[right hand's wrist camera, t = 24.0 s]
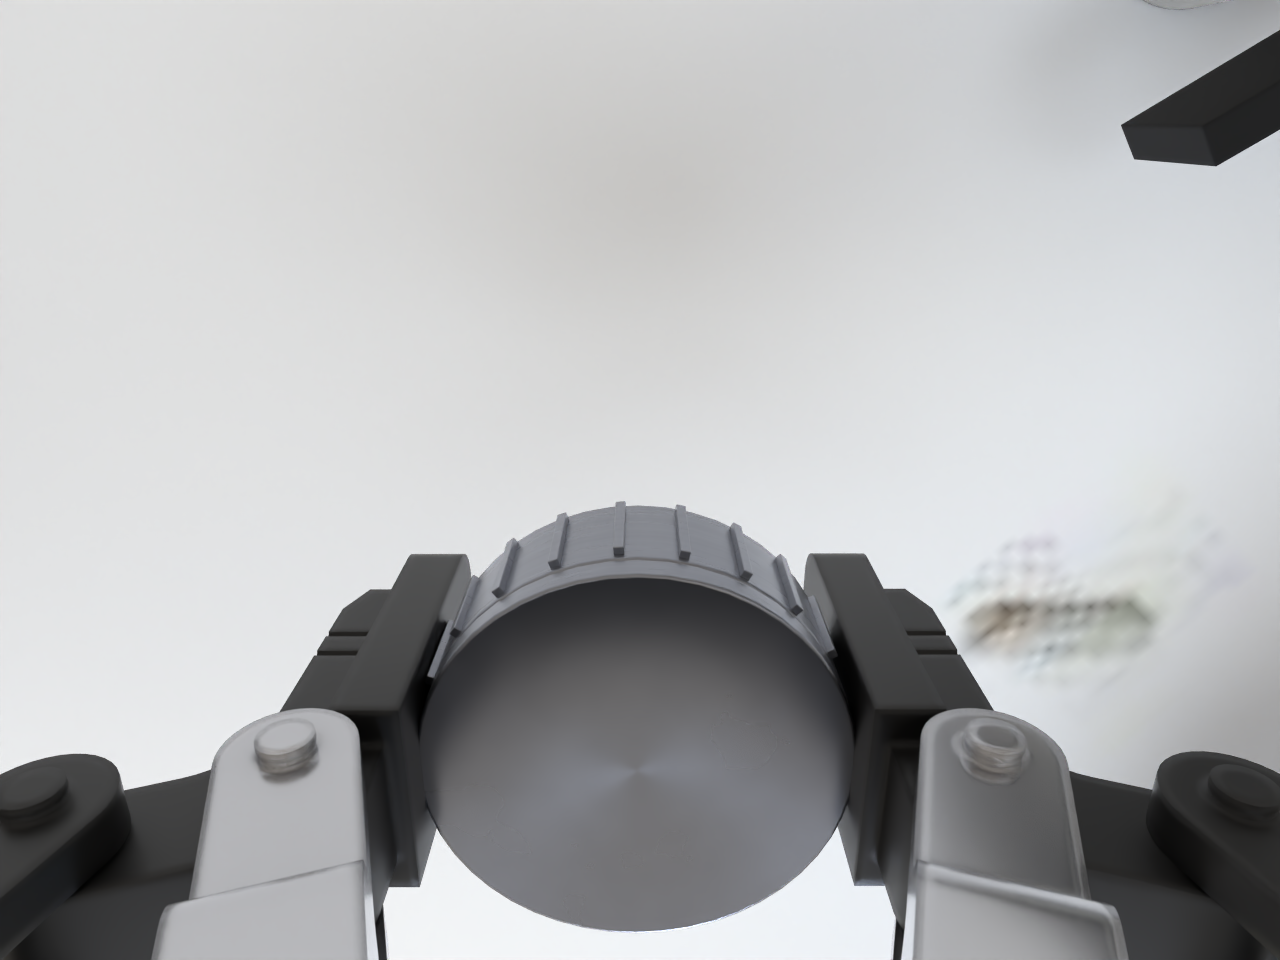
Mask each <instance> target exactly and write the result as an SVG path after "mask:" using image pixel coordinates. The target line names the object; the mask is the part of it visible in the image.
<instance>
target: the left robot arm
mask: <svg viewBox="0 0 1280 960" xmlns="http://www.w3.org/2000/svg"><path fill="white" fill-rule="evenodd" d="M1121 126H1122V129H1123V131H1124V134H1125V137H1126V139H1127V142H1128V144H1129V147H1130V150H1131V152H1132V155H1133V157H1134V159H1138V160H1149V161H1161V162H1173V163H1184V164H1196V165H1208V166H1217V165H1219V164H1221V163H1223V162H1224V161H1226V160H1228V159H1230V158H1231V157H1233V156H1235V155H1236V154H1238V153H1240V152H1242V151H1243V150H1245V149H1247V148H1249V147H1250V146H1252V145H1254V144H1256V143H1257V142H1259V141H1261V140H1262V139H1264V138H1266V137H1268V136H1269V135H1271V134H1273V133H1275V132H1276V131H1278V130H1280V30H1279V31H1277V32H1276V33H1274V34H1272V35H1271V36H1269V37H1267V38H1266V39H1264V40H1262V41H1261V42H1259V43H1257V44H1256V45H1254V46H1252V47H1251V48H1249V49H1247V50H1246V51H1244V52H1242V53H1241V54H1239V55H1237V56H1236V57H1234V58H1232V59H1231V60H1229V61H1227V62H1226V63H1224V64H1222V65H1221V66H1219V67H1217V68H1216V69H1214V70H1212V71H1211V72H1209V73H1207V74H1206V75H1204V76H1202V77H1201V78H1199V79H1197V80H1196V81H1194V82H1192V83H1191V84H1189V85H1187V86H1186V87H1184V88H1182V89H1181V90H1179V91H1177V92H1176V93H1174V94H1172V95H1171V96H1169V97H1167V98H1166V99H1164V100H1162V101H1160V102H1159V103H1157V104H1155V105H1154V106H1152V107H1150V108H1149V109H1147V110H1145V111H1144V112H1142V113H1140V114H1139V115H1137V116H1135V117H1134V118H1132V119H1130V120H1129V121H1127V122H1125V123H1124V124H1122V125H1121Z"/></svg>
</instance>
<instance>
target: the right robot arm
mask: <svg viewBox="0 0 1280 960" xmlns="http://www.w3.org/2000/svg"><path fill="white" fill-rule="evenodd" d="M470 579H471V572H470V565H469V560H468V557H467V555H466V554H411V555H410V556H409V558H408V559H407V561H406V563H405V565H404V567H403V569H402V571H401V572H400V574H399V576H398V578H397V580H396V582H395V584H394V585H393V587H392V589H391V590H369V591H368V592H366V593H365V594H363V595H362V596H361V597H359V598H358V599H356V600H355V601H354V602H352V603H351V604H349V605H348V606H347V607H345V608H344V609H343V610H342V611H341V613H340V615H339V616H338V618H337V619H336V621H335V623H334V624H333V626H332V628H331V629H330V631H329V636H326V637H325V639H324V641H323V642H322V644H321V646H320V647H319V649H318V650H317V656H314V657H313V659H312V660H311V662H310V663H309V665H308V667H307V668H306V670H305V672H304V673H303V675H302V676H301V678H300V680H299V681H298V683H297V685H296V686H295V688H294V689H293V691H292V693H291V694H290V696H289V698H288V699H287V701H286V703H285V704H284V706H283V707H282V709H281V711H280V712H279V713H275V714H272V715H269V716H266V717H264V718H261V719H259V720H257V721H254V722H252V723H251V724H249V725H247V726H245V727H243V728H242V729H240V730H239V731H237V732H236V733H235V734H233V735H232V736H231V737H230V738H229V739H228V740H226V741H225V743H224V744H223V745H222V746H221V747H220V748H219V750H218V752H217V753H216V755H215V757H214V760H213V763H212V768H211V770H208V771H206V772H203V773H200V774H197V775H193V776H189V777H185V778H181V779H176V780H172V781H167V782H162V783H158V784H153V785H148V786H143V787H139V788H134V789H129V790H124V789H123V786H122V782H121V778H120V774H119V772H118V769H117V767H116V766H115V765H114V764H113V763H112V762H110V761H109V760H107V759H105V758H102V757H99V756H96V755H89V754H67V755H58V756H53V757H48V758H44V759H40V760H37V761H33V762H30V763H27V764H24V765H21V766H19V767H16V768H14V769H12V770H9V771H7V772H5V773H3V774H1V775H0V960H389V949H388V937H387V929H386V922H385V915H384V908H383V903H384V900H385V896H386V893H387V890H388V887H420V884H421V880H422V877H423V874H424V870H425V867H426V863H427V860H428V856H429V853H430V849H431V846H432V842H433V839H434V835H435V832H436V829H437V827H436V825H435V823H434V821H433V819H432V818H431V816H430V814H429V811H428V808H427V805H426V798H425V790H424V781H423V772H422V763H421V754H420V744H419V722H420V718H421V714H422V711H423V708H424V705H425V701H426V698H427V695H428V693H429V690H430V687H431V685H429V684H426V683H425V679H426V676H427V673H428V671H429V668H430V666H431V663H432V661H433V658H434V655H435V653H436V650H437V648H438V645H439V643H440V640H441V637H442V635H443V632H444V630H445V627H446V625H447V622H448V620H452V621H454V619H455V617H456V614H457V611H458V609H459V606H460V604H461V601H462V598H463V596H464V593H465V590H466V588H467V585H468V582H469V580H470ZM804 592H805V594H806V595H807V597H810V596H813V595H814V596H815V598H816V600H817V601H818V604H819V607H820V609H821V612H822V615H823V617H824V620H825V623H826V625H827V628H828V631H829V633H830V636H831V639H832V641H833V644H834V647H835V649H836V652H837V655H838V656H837V657H835V658H833V662H834V664H835V667H836V670H837V673H838V675H839V678H840V681H841V684H842V686H843V689H844V692H845V695H846V697H847V700H848V704H849V707H850V711H851V714H852V718H853V721H854V727H855V748H854V758H853V768H852V777H851V786H850V794H849V801H848V803H847V806H846V809H845V811H844V814H843V817H842V819H841V820H840V822H839V824H838V829H839V832H840V836H841V839H842V843H843V846H844V850H845V854H846V857H847V861H848V864H849V868H850V871H851V875H852V878H853V882H854V886H885V887H886V890H887V893H888V896H889V899H890V902H891V905H892V909H893V912H894V914H895V922H894V929H893V937H892V950H891V960H1280V774H1279V773H1277V772H1275V771H1273V770H1271V769H1268V768H1266V767H1264V766H1262V765H1259V764H1256V763H1254V762H1251V761H1248V760H1245V759H1242V758H1238V757H1235V756H1231V755H1226V754H1221V753H1214V752H1204V751H1202V752H1185V753H1179V754H1176V755H1173V756H1171V757H1169V758H1167V759H1166V760H1164V762H1163V763H1162V764H1161V765H1160V767H1159V769H1158V771H1157V775H1156V779H1155V782H1154V786H1153V790H1150V789H1145V788H1141V787H1136V786H1131V785H1126V784H1122V783H1117V782H1112V781H1108V780H1103V779H1098V778H1093V777H1089V776H1085V775H1081V774H1077V773H1074V772H1071V771H1069V768H1068V763H1067V760H1066V757H1065V755H1064V753H1063V752H1062V750H1061V748H1060V747H1059V746H1058V745H1057V744H1056V743H1055V741H1054V740H1052V739H1051V738H1050V737H1049V736H1048V735H1047V734H1045V733H1044V732H1043V731H1041V730H1040V729H1038V728H1037V727H1035V726H1033V725H1031V724H1029V723H1028V722H1026V721H1023V720H1021V719H1019V718H1016V717H1014V716H1011V715H1008V714H1005V713H1001V712H997V711H994V710H993V708H992V707H991V705H990V703H989V702H988V700H987V698H986V697H985V695H984V693H983V692H982V690H981V688H980V687H979V685H978V683H977V682H976V680H975V679H974V677H973V675H972V674H971V672H970V670H969V669H968V667H967V665H966V664H965V662H964V660H963V659H962V657H961V655H957V649H956V647H955V645H954V644H953V642H952V640H951V639H950V637H949V636H946V631H945V629H944V627H943V626H942V624H941V622H940V621H939V619H938V617H937V616H936V614H935V612H934V611H933V609H932V608H931V607H929V606H928V605H927V604H925V603H924V602H922V601H921V600H920V599H918V598H917V597H915V596H914V595H913V594H911V593H910V592H908V591H907V590H906V589H883V587H882V585H881V583H880V581H879V579H878V577H877V575H876V573H875V572H874V570H873V568H872V566H871V564H870V562H869V560H868V558H867V557H866V555H865V554H809V556H808V558H807V562H806V568H805V578H804Z"/></svg>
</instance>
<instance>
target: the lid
mask: <svg viewBox="0 0 1280 960" xmlns="http://www.w3.org/2000/svg"><path fill="white" fill-rule="evenodd" d="M837 656H838V655H837V652H836V649H835V647H834V644H833V641H832V639H831V636H830V633H829V631H828V628H827V625H826V623H825V620H824V617H823V615H822V612H821V609H820V607H819V604H818V601H817V600H816V598H815V596H814V595H813V596H810V597H807V595H806V594H805V592H804V591H803V589H802V588H801V586H800V585H799V583H798V582H797V580H796V579H795V577H794V576H793V575H792V574H791V572H790V569H789V566H788V563H787V560H786V559H785V558H784V557H783V556H782V555H781V554H780V555H778V556H777V557H775V556H773V555H772V554H771V553H770V552H769V551H767V550H766V549H765V548H764V547H763V546H762V545H760V544H759V543H757V542H756V541H754V540H752V539H751V538H749V537H748V536H746V535H745V534H743V532H742V528H741V526H739V525H737V524H735V523H733V524H732V525H731V527H729V526H727V525H725V524H723V523H721V522H718V521H716V520H713V519H710V518H707V517H704V516H701V515H698V514H695V513H691V512H686V507H685V506H681V505H676V508H675V509H671V508H665V507H651V506H626V503H625V501H623V502H616V507H609V508H604V509H598V510H592V511H587V512H583V513H580V514H576V515H573V516H570V517H568V516H567V514H566V513H563V514H560V515H558V516H557V520H556V522H553V523H551V524H549V525H547V526H545V527H542V528H540V529H538V530H536V531H534V532H533V533H531V534H529V535H528V536H526V537H525V538H523V539H521V540H520V541H518V542H517V541H516V540H515V539H514V538H513V539H511V540H510V541H509V542H507V544H506V548H505V551H504V553H503V554H502V555H500V556H499V557H498V558H497V559H496V560H495V561H494V562H493V563H492V564H491V565H490V566H489V567H488V568H487V569H486V570H485V572H484V573H483V574H482V575H481V576H480V577H479V578H478V577H476V576H475V575H473V576H472V578H471V579H470V580H469V582H468V585H467V588H466V590H465V593H464V596H463V598H462V601H461V604H460V606H459V609H458V611H457V614H456V617H455V619H454V621H452V620H448V622H447V625H446V627H445V630H444V632H443V635H442V637H441V640H440V643H439V645H438V648H437V650H436V653H435V655H434V658H433V661H432V663H431V666H430V668H429V671H428V673H427V676H426V679H425V683H426V684H429V685H431V687H430V690H429V693H428V695H427V698H426V701H425V705H424V708H423V711H422V714H421V718H420V722H419V744H420V754H421V763H422V772H423V781H424V790H425V798H426V805H427V808H428V811H429V814H430V816H431V818H432V819H433V821H434V823H435V825H436V827H437V829H438V831H439V833H440V835H441V836H442V837H443V839H444V840H445V842H446V843H447V844H448V846H449V847H450V848H451V850H452V851H453V853H454V854H455V855H456V856H457V857H458V858H459V859H460V860H461V861H462V862H463V863H464V865H465V866H466V867H467V868H468V869H469V870H470V871H471V872H472V873H473V874H475V875H476V876H477V877H478V878H480V879H481V880H482V881H483V882H484V883H486V884H487V885H488V886H489V887H491V888H492V889H494V890H495V891H497V892H498V893H500V894H501V895H503V896H505V897H506V898H508V899H509V900H511V901H513V902H515V903H517V904H519V905H521V906H523V907H525V908H527V909H529V910H531V911H533V912H535V913H538V914H541V915H543V916H546V917H549V918H551V919H554V920H557V921H560V922H564V923H568V924H572V925H576V926H580V927H583V928H590V929H597V930H603V931H610V932H629V933H644V932H663V931H670V930H677V929H684V928H690V927H694V926H698V925H702V924H706V923H710V922H714V921H717V920H719V919H722V918H725V917H728V916H731V915H733V914H736V913H738V912H741V911H743V910H745V909H747V908H749V907H751V906H753V905H755V904H757V903H759V902H761V901H763V900H764V899H766V898H767V897H769V896H771V895H772V894H774V893H775V892H777V891H779V890H780V889H782V888H783V887H784V886H785V885H787V884H788V883H789V882H790V881H792V880H793V879H794V878H795V877H797V876H798V875H799V874H800V873H801V872H802V871H803V870H804V869H805V868H806V867H807V866H808V865H809V864H810V863H811V862H812V861H813V860H814V859H815V858H816V857H817V856H818V854H819V853H820V852H821V850H822V849H823V848H824V846H825V845H826V844H827V842H828V841H829V840H830V838H831V837H832V835H833V833H834V831H835V830H836V828H837V826H838V824H839V822H840V820H841V819H842V817H843V814H844V811H845V809H846V806H847V803H848V801H849V794H850V786H851V777H852V768H853V758H854V748H855V727H854V721H853V718H852V714H851V711H850V707H849V704H848V700H847V697H846V695H845V692H844V689H843V686H842V684H841V681H840V678H839V675H838V673H837V670H836V667H835V664H834V662H833V658H835V657H837Z"/></svg>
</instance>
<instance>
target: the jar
mask: <svg viewBox="0 0 1280 960" xmlns="http://www.w3.org/2000/svg"><path fill="white" fill-rule="evenodd" d="M1144 1H1146V2H1148V3H1150V4H1152V5H1155V6H1158V7H1162V8H1167V9H1190V8H1196V7H1201V6H1206V5H1211V4H1216V3H1221V2H1227V1H1232V0H1144Z"/></svg>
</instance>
